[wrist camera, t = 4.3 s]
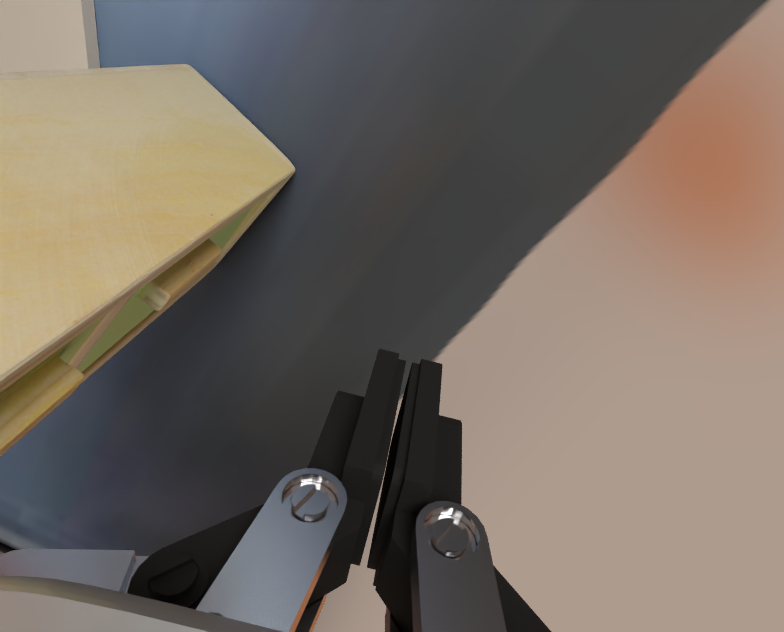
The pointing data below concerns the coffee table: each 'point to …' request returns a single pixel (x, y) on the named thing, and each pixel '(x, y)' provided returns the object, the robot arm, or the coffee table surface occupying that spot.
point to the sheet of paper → (47, 35)
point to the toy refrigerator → (111, 215)
